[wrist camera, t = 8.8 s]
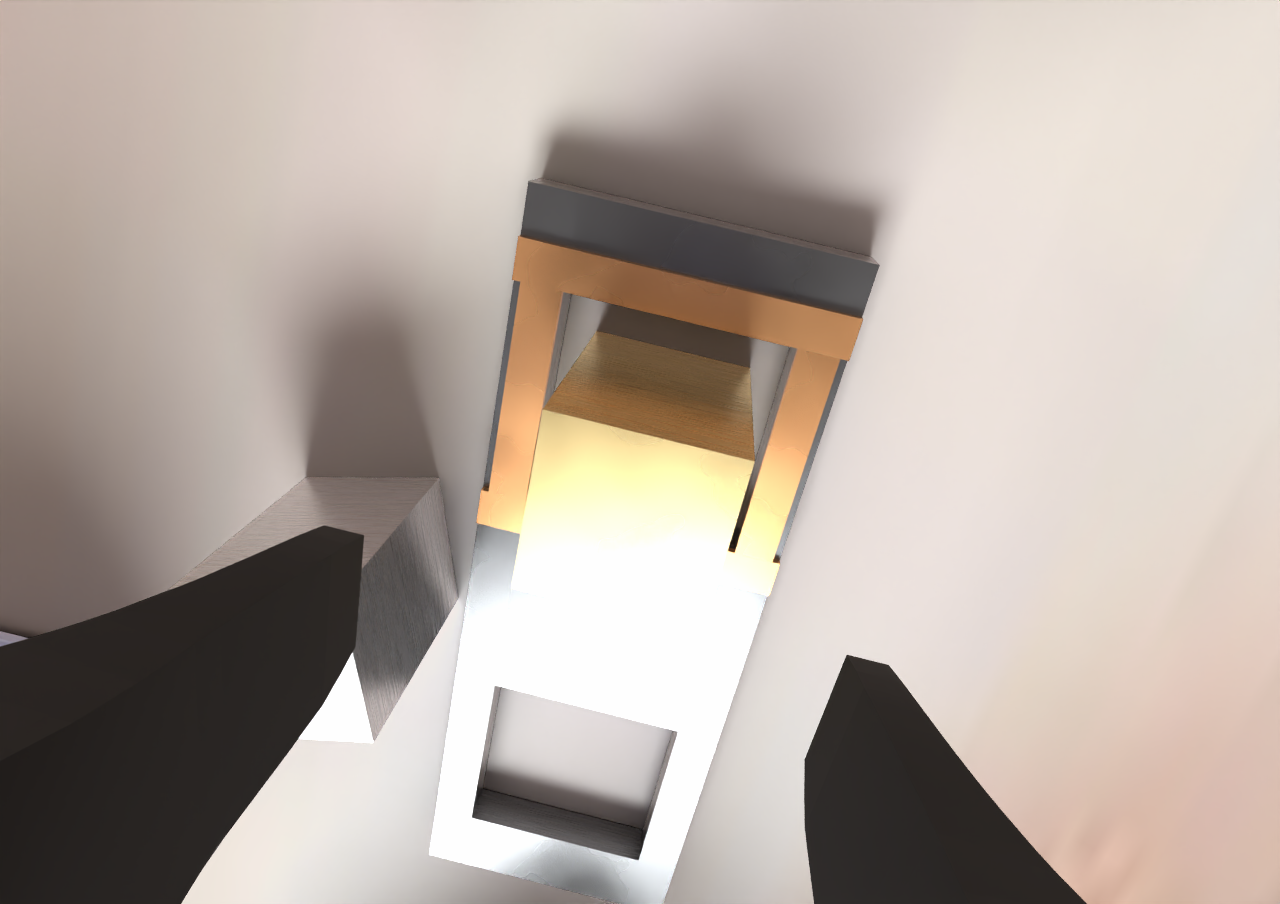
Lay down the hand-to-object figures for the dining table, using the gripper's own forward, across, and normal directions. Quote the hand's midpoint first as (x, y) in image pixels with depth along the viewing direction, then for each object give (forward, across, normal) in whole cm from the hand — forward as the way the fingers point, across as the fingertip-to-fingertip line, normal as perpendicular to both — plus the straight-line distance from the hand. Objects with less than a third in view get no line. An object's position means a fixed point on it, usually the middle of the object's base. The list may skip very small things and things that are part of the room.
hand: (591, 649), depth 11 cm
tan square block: (+10, 0, 0) cm, 10 cm away
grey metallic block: (+10, +7, +6) cm, 14 cm away
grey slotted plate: (+10, 0, +6) cm, 11 cm away
